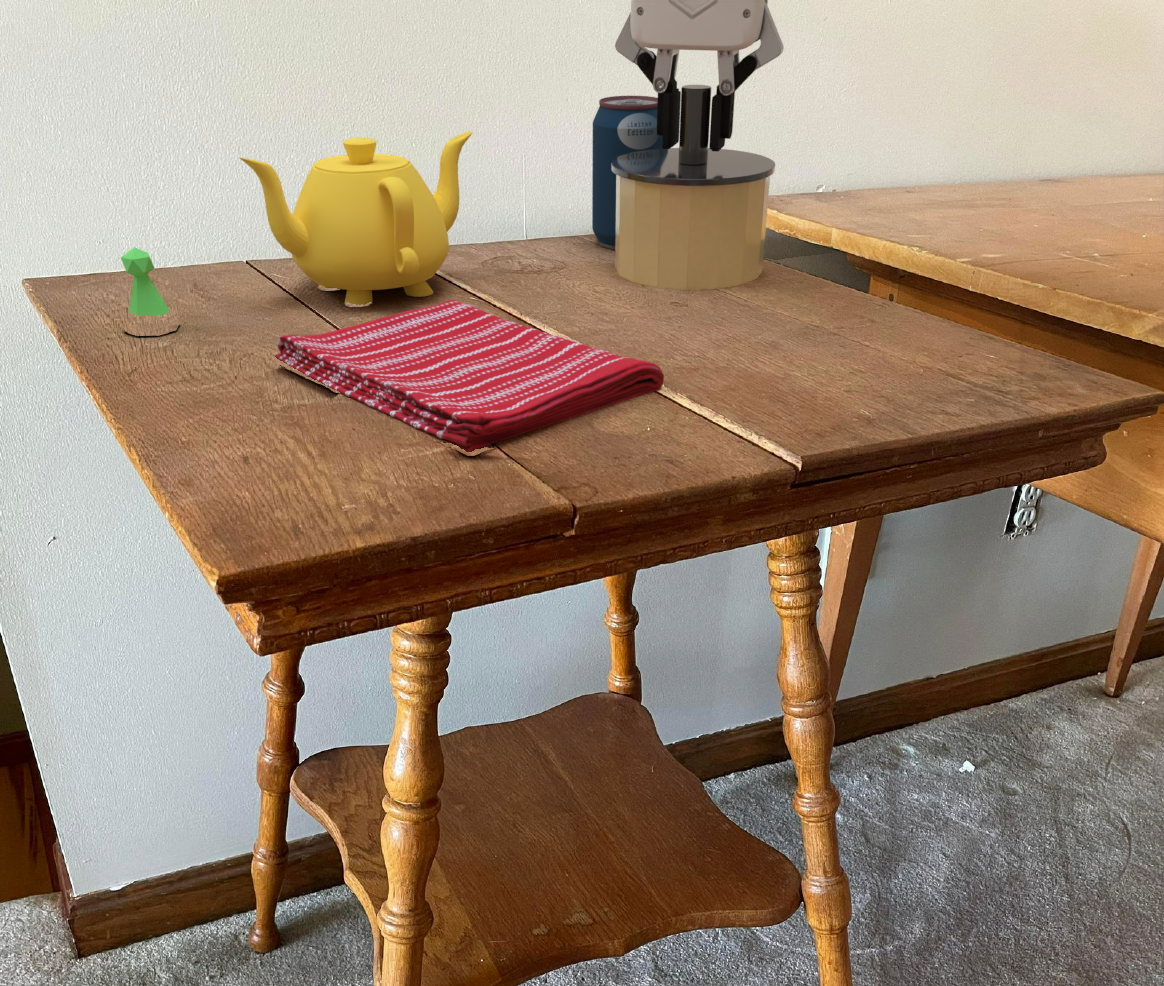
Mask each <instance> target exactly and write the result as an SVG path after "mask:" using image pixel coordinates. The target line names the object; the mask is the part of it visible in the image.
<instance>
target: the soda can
mask: <svg viewBox="0 0 1164 986" xmlns="http://www.w3.org/2000/svg"><path fill="white" fill-rule="evenodd" d="M598 104H599V107H598V108H597V111H596V113H595V115H594V117H593V120H592V172H591V173H592V175H591V176H592V179H591V181H592V185H591V186H592V187H591V189H592V191H591V193H592V194H591V195H592V196H591V197H592V200H591V202H592V204H591V205H592V209H591V210H592V214H591V215H592V216H591V220H592V221H591V223H592V226H591V229H592V232H593V234H594V236H595V238H596V239H597V241H598V244H599V245H600V246H602V247H603V248H606V249H609V250H610V249H611V250H615V242H616V174H615V173H613V172H612V169H611V163H612V161H613V160H614V159H615V158H617V157H619V156H621V155H624V154H628V153H633V152H638V151H644V150H653V149H663V147H662V140H663V136H660V135H657V104H658V97H656V96H649V95H615V96H614V95H613V96H607V97H603V98H601V99H599V100H598Z"/></svg>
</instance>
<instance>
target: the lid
mask: <svg viewBox="0 0 1164 986" xmlns="http://www.w3.org/2000/svg"><path fill="white" fill-rule="evenodd" d="M680 91H681V101H680V126H679V141H678V145H679V146H678V147H671V148H670V149H653V150H644V151H638V152H633V153H628V154H624V155H621V156H619V157H617V158H615V159H614V160H613V161H612V163H611V169H612V172H613V173H615V174H616V175H618V176H621V177H623V178H627V179H630V180H634V181H640V182H645V183H653V184H662V185H677V186H717V185H731V184H740V183H747V182H752V181H757V180H760V179H764V178H766V177H769V176H770V177H771V176H772V175H773V174H775V172H776V162H775V161H774V160H773V159H771V158H769V157H767V156H766V155H765V156H764V155H762V154H758V153H754V152H749V151H743V150H738V149H737V150H735V149H727V148H721V149H720V150H719V151H712V149H709V144H710V126H711V107H712V86H711V85H706V84H686V85H682V86H681V90H680Z"/></svg>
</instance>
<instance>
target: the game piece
mask: <svg viewBox="0 0 1164 986" xmlns="http://www.w3.org/2000/svg"><path fill="white" fill-rule="evenodd" d="M120 260H121V261H122V265H123V267H124V269H125V272H126V274H128V275H132V276H133V280H132V281H133V282H132V287H131V288H132V289H131V294H130V301H129V302H130V303H129V309H128V313H129V312H130V313H134V314H135V315H141V316H157V315H162V314H163V315H164V314H166V313H168V311H169V310H170V308H169V307H168V305H167V303H166V302H165V300H164V299H163V297H162V296H161V294H160V292H159V291H158V289H157V287H156V286H155V284H154V282H153V281H152V280H151V278H150V276H149V273H150V272H152V271H153V270H154V269H155V266H154V263H153V261H152V258H151V256H150V254H149V252H148V251H145V250H143V249H140V248H137V247H133V248H131V249H130V250H128V251H127V252H125V253H124V254H123V255H121V256H120Z"/></svg>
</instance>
